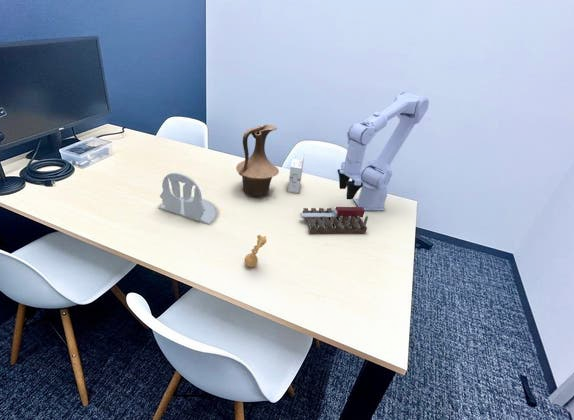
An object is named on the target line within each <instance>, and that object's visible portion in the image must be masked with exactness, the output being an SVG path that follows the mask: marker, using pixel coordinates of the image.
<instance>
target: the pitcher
mask: <svg viewBox="0 0 574 420" xmlns="http://www.w3.org/2000/svg"><path fill="white" fill-rule="evenodd" d="M276 130H278V127H277V126H275V125H271V124H264V125H258V126H254V127H251V128H249V129H246V131H245V132H244V133H243V135H242V147H243V152H244V153H243V154H244V160H242V161H241V162H239V163H237V165H236V167H235V169H236V171H237V173H238V175H239V176H241V181H242V192H243V193H244V195H246V196H248V197H252V198H263V197H265V196H267V195H268V194H269V190H270V185H271V182H272V179H273V177H276V176H277V175H278V174H279V172H280V170H279V168H278V167H277V166H276V165H275V164H273V163H272V162H271V161H270V160H269V159H268V157H267V154H266V149H265V146H266V139H267V137H268V135H269V134H270V133H271V132H274V131H276ZM249 136H252V137H253V138H254V140H255V144H254V150H253V152H252V153H251V155H250V156H249V146H248V139H249Z"/></svg>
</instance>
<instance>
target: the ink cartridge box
mask: <svg viewBox="0 0 574 420" xmlns="http://www.w3.org/2000/svg"><path fill="white" fill-rule="evenodd" d="M304 162H305V154H303V156H302V159H297V158H292V159H291V163H290V167H289V168H290V169H289V176H288V185H287V193H294V194H299V193H300V188H301V184H302V183H301V182H302V176H303V171H304V170H303V169H304Z"/></svg>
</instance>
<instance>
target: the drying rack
mask: <svg viewBox="0 0 574 420" xmlns="http://www.w3.org/2000/svg"><path fill="white" fill-rule="evenodd" d="M334 209H336V207H334ZM332 212H333V208H332V207H327V208H326V210H325V209H324V207H318V210H317V209H316V207H311V208H310V209H309V208H308V207H303V209H302V213H332ZM305 218H306V221H307V222H308V225H309V230H308V233H309V235H365V234H366V233H367V229H368V227H367V223H368V220H369V216H368V215H365V217H364V221H363V219H362V217H360V216H357V217H351V216H349V217H343V216H340V217H336V218H334V216H331V217H330V219H329V217H325V216H323V217H317V216H314V217H305ZM338 219H339V220H338ZM354 219H355V220H354ZM316 224H317V226H316ZM333 225H334V227H333ZM325 226H326V227H325ZM342 226H343V227H342Z"/></svg>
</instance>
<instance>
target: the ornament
mask: <svg viewBox="0 0 574 420" xmlns="http://www.w3.org/2000/svg"><path fill="white" fill-rule="evenodd" d="M180 183H181V184H184V185H183V186H182V197H181V185H180ZM170 186H171V188H170ZM193 187H194V190H193V193H194V194H193V197H192V189H193ZM161 188H162V192H161V193H160V194H159V198H160V199H162V200H161V202H162V204H161V205H159V207H158V209H160V210H163V211H166V212H169V213H172V214H175V215H178V216H182V217H184V218H187V219H190V220H194V221H197V222H200V223H203V224H206V225H211V224H212V223H213V222H214V220H215V219H216V217H217V209H216V208H215V206H214V205H213V204H212V203H211V202H209V201H207V200H205V199H203V195H202V192H201V189H200V187H199V185H198V184H197V183H196V181H195V180H194V179H192V177H190V176H188V175H185V174H183V173H178V172H171V173H168V174H166V176H164V177H163V180H162V185H161Z"/></svg>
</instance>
